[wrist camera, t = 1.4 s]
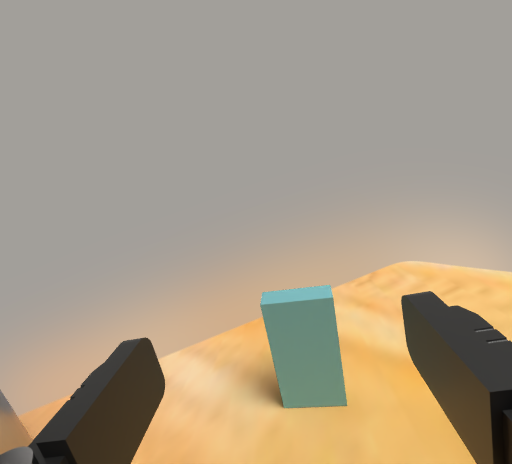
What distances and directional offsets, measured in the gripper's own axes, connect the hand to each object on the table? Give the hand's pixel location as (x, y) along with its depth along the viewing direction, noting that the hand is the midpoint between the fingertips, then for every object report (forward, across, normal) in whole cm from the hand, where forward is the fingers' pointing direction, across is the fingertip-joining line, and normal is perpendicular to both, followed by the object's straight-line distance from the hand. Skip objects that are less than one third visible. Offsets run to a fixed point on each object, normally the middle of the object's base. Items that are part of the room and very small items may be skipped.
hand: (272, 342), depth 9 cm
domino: (+12, 0, +14) cm, 19 cm away
